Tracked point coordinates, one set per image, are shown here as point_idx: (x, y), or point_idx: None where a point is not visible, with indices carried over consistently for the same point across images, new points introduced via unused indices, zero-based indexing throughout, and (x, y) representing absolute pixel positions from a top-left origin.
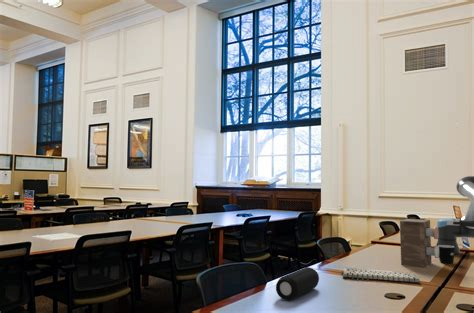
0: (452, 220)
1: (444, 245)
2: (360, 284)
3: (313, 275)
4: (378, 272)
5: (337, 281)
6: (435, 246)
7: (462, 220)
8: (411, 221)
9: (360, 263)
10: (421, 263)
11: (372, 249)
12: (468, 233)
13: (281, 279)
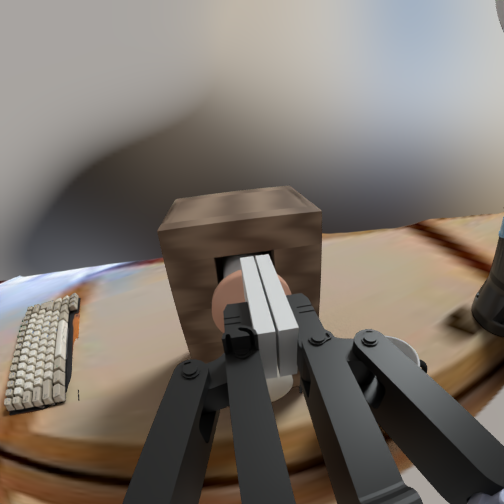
0: (245, 285)
1: (404, 344)
2: (3, 338)
3: None
4: (49, 337)
5: (17, 314)
6: None
7: (366, 330)
8: (173, 211)
9: (167, 288)
10: None
11: (349, 244)
12: None
13: None
